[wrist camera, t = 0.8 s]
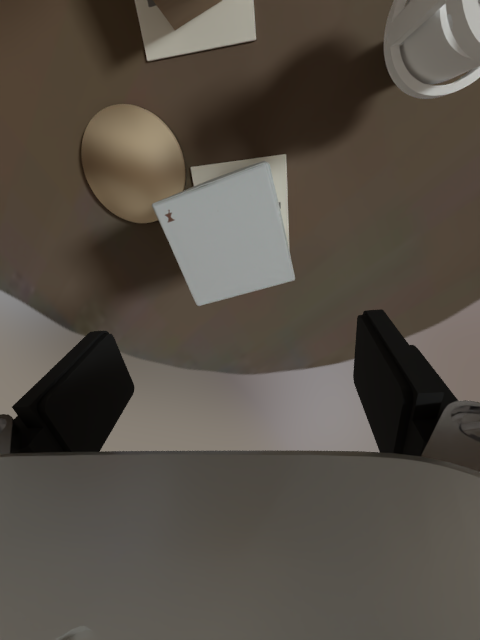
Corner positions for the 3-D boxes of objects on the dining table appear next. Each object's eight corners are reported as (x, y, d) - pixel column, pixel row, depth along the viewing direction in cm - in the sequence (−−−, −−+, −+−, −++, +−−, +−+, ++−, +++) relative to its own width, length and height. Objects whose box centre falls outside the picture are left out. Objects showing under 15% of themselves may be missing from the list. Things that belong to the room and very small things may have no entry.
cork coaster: (68, 114, 26) (64, 113, 25) (172, 96, 24) (170, 94, 24) (106, 226, 31) (103, 227, 30) (194, 216, 29) (193, 217, 29)
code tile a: (190, 167, 27) (190, 167, 27) (285, 154, 26) (286, 153, 26) (207, 258, 31) (206, 259, 31) (289, 251, 30) (289, 251, 30)
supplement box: (220, 256, 31) (193, 309, 20) (195, 184, 28) (145, 201, 17) (287, 237, 29) (297, 283, 18) (268, 158, 26) (267, 157, 15)
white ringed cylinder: (358, 119, 24) (462, 73, 11) (360, 5, 21) (512, -255, 8) (449, 99, 23) (686, 21, 10) (467, -26, 20) (858, -393, 7)
